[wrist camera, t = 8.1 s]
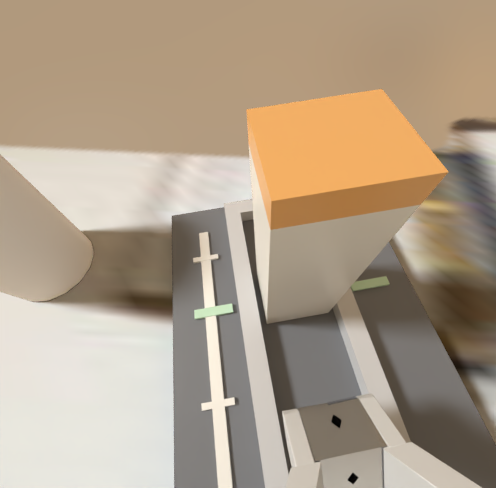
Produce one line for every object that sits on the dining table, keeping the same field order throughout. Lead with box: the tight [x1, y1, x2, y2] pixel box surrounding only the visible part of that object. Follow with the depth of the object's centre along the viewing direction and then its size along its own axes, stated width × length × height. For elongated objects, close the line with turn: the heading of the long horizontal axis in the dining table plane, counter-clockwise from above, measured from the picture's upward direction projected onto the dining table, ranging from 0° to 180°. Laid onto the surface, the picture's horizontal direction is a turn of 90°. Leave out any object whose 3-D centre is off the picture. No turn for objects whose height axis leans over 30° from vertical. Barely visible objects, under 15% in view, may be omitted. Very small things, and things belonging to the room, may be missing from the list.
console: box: [172, 199, 496, 488], centre depth 14 cm, size 20×14×2 cm
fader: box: [247, 89, 448, 324], centre depth 10 cm, size 3×4×10 cm
